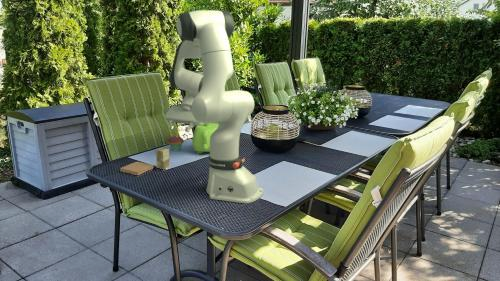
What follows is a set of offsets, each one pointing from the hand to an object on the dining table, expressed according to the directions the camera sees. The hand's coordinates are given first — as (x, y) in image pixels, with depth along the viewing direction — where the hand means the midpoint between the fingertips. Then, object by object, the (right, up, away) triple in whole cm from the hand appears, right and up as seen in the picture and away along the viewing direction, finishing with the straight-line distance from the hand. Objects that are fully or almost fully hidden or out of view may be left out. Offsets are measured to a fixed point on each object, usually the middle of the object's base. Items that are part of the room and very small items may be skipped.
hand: (178, 130), depth 177 cm
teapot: (+14, -10, +22) cm, 28 cm away
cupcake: (-6, -10, +22) cm, 24 cm away
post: (-6, -18, -6) cm, 20 cm away
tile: (-17, -19, -10) cm, 27 cm away
